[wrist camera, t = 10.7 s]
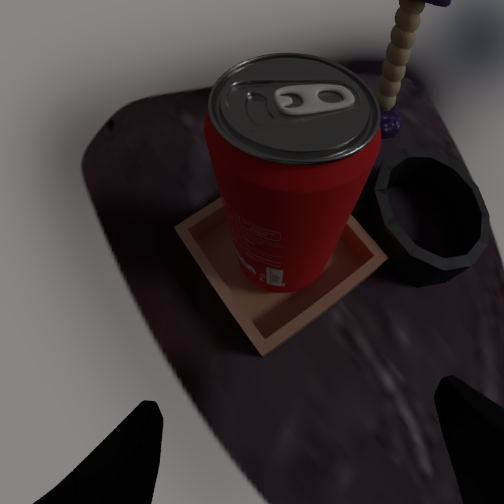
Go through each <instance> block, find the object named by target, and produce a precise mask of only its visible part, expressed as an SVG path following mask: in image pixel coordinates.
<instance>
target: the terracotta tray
mask: <svg viewBox="0 0 504 504" xmlns="http://www.w3.org/2000/svg"><path fill="white" fill-rule="evenodd" d="M174 228H175V230H176V231H177V233H178V235H179V236H180V238H181V239H182V241H183V243H184V244H185V246H186V247H187V249H188V250H189V252H190V253H191V255H192V256H193V258H194V259H195V261H196V262H197V264H198V265H199V267H200V268H201V270H202V271H203V273H204V274H205V276H206V277H207V279H208V280H209V282H210V283H211V285H212V286H213V288H214V289H215V291H216V292H217V294H218V295H219V296H220V298H221V299H222V301H223V302H224V304H225V305H226V307H227V308H228V309H229V311H230V312H231V314H232V315H233V317H234V318H235V319H236V321H237V322H238V324H239V325H240V327H241V328H242V329H243V331H244V332H245V334H246V335H247V336H248V338H249V339H250V341H251V342H252V343H253V345H254V346H255V347H256V349H257V350H258V352H259V353H260V354H261V356H262V357H265V356H266V355H268V354H269V353H270V352H272V351H273V350H275V349H276V348H277V347H279V346H280V345H282V344H283V343H284V342H286V341H287V340H289V339H290V338H291V337H293V336H294V335H295V334H297V333H298V332H299V331H301V330H302V329H304V328H305V327H306V326H308V325H309V324H310V323H311V322H313V321H314V320H315V319H317V318H318V317H319V316H321V315H322V314H323V313H325V312H326V311H327V310H328V309H330V308H331V307H332V306H333V305H335V304H336V303H337V302H339V301H340V300H341V299H342V298H344V297H345V296H346V295H347V294H348V293H350V292H351V291H352V290H353V289H355V288H356V287H357V286H358V285H359V284H361V283H362V282H363V281H364V280H365V279H367V278H368V277H369V276H370V275H371V274H373V273H374V272H375V271H376V270H377V269H378V268H379V267H380V266H381V265H382V264H383V263H384V262H385V261H386V260H387V259H388V257H387V256H386V254H385V253H384V252H383V251H382V250H381V248H380V247H379V246H378V245H377V244H376V242H375V241H374V240H373V239H372V238H371V237H370V235H369V234H368V233H367V232H366V231H365V230H364V229H363V227H362V226H361V225H360V224H359V223H358V222H357V221H356V220H355V218H354V217H353V216H352V215H350V217H349V220H348V222H347V224H346V226H345V228H344V230H343V232H342V234H341V236H340V238H339V240H338V242H337V244H336V246H335V248H334V250H333V252H332V254H331V256H330V258H329V260H328V262H327V264H326V266H325V268H324V270H323V271H322V273H321V275H320V276H319V277H318V278H317V279H316V280H315V281H314V282H313V283H312V284H310V285H309V286H307V287H305V288H304V289H301V290H299V291H295V292H290V293H276V292H271V291H268V290H265V289H263V288H261V287H259V286H257V285H256V284H254V283H253V282H252V281H251V280H250V279H249V278H248V277H247V276H246V275H245V273H244V272H243V270H242V268H241V266H240V264H239V261H238V257H237V254H236V250H235V247H234V243H233V239H232V236H231V232H230V228H229V225H228V221H227V217H226V214H225V210H224V206H223V203H222V199H221V197H220V198H219V199H217V200H215V201H214V202H212V203H211V204H209V205H208V206H206V207H204V208H203V209H201V210H200V211H198V212H197V213H195V214H193V215H192V216H190V217H189V218H187V219H186V220H184V221H183V222H181V223H180V224H178V225H177V226H175V227H174Z"/></svg>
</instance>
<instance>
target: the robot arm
mask: <svg viewBox="0 0 504 504" xmlns="http://www.w3.org/2000/svg"><path fill="white" fill-rule="evenodd" d="M434 402H435V405H436V409H437V413H438V417H439V422H440V426H441V430H442V434H443V438H444V441H445V444H446V447H447V450H448V453H449V456H450V459H451V462H452V466H453V469H454V472H455V475H456V479H457V482H458V486H459V489H460V493H461V497H462V501H463V504H504V408H502V407H501V406H499V405H498V404H496V403H495V402H493V401H492V400H490V399H489V398H487V397H486V396H484V395H483V394H481V393H480V392H478V391H477V390H475V389H474V388H472V387H470V386H469V385H467V384H466V383H464V382H463V381H461V380H460V379H458V378H457V377H455V376H453V375H451V376H447V377H444V378H442V379H441V381H440V383H439V385H438V387H437V390H436V392H435V394H434ZM162 432H163V416H162V414H161V412H160V409H159V407H158V404H157V403H156V402H155V401H146V400H144V401H142V402H141V403H140V404H139V405H138V406H137V407H136V408H135V409H134V410H133V411H132V412H131V413H130V414H129V415H128V416H127V417H126V418H125V419H124V420H123V421H122V422H121V423H120V424H119V425H118V426H117V427H116V428H115V429H114V430H113V431H112V432H111V433H110V434H109V435H108V436H107V437H106V438H105V439H104V440H103V441H102V442H101V443H100V444H99V445H98V446H97V447H96V448H95V449H94V450H93V451H92V452H91V453H90V454H89V455H88V456H87V457H86V458H85V459H84V460H83V461H82V462H81V463H80V464H79V465H78V466H77V467H76V468H75V469H74V470H73V471H72V472H71V473H70V474H68V475H67V477H65V478H64V479H63V480H62V481H61V482H60V483H59V484H58V485H57V486H55V487H54V488H53V489H52V490H51V491H49V492H48V493H47V494H46V495H44V496H43V497H41V498H40V499H39V500H37V501H36V502H34V503H33V504H151V502H152V497H153V493H154V488H155V483H156V478H157V474H158V469H159V464H160V453H161V442H162Z"/></svg>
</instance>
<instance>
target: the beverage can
mask: <svg viewBox="0 0 504 504" xmlns="http://www.w3.org/2000/svg"><path fill="white" fill-rule="evenodd" d="M380 119H381V113H380V107H379V104H378V101H377V99H376V97H375V95H374V93H373V91H372V90H371V89H370V87H369V86H368V85H367V84H366V83H365V82H364V81H363V80H362V79H361V78H360V77H359V76H357V75H356V74H355V73H353V72H352V71H350V70H349V69H347V68H345V67H343V66H342V65H339V64H337V63H335V62H333V61H330V60H327V59H325V58H322V57H318V56H314V55H307V54H298V53H275V54H269V55H262V56H258V57H255V58H251V59H248V60H246V61H243V62H241V63H239V64H237V65H235V66H234V67H232V68H231V69H229V70H228V71H227V72H225V73H224V74H223V75H222V76H221V77H220V78H219V79H218V80H217V81H216V83H215V84H214V86H213V88H212V90H211V92H210V95H209V99H208V111H207V113H206V117H205V123H204V132H205V138H206V142H207V146H208V150H209V154H210V158H211V161H212V165H213V169H214V173H215V176H216V180H217V184H218V188H219V191H220V195H221V199H222V203H223V206H224V210H225V214H226V217H227V221H228V225H229V228H230V232H231V236H232V239H233V243H234V247H235V250H236V254H237V257H238V261H239V264H240V266H241V268H242V270H243V272H244V273H245V275H246V276H247V277H248V278H249V279H250V280H251V281H252V282H253V283H254V284H256V285H257V286H259V287H261V288H263V289H265V290H268V291H271V292H276V293H290V292H295V291H299V290H301V289H304V288H305V287H307V286H309V285H310V284H312V283H313V282H314V281H315V280H316V279H317V278H318V277H319V276H320V275H321V273H322V271H323V270H324V268H325V266H326V264H327V262H328V260H329V258H330V256H331V254H332V252H333V250H334V248H335V246H336V244H337V242H338V240H339V238H340V236H341V234H342V232H343V230H344V228H345V226H346V224H347V222H348V220H349V217H350V215H351V213H352V211H353V209H354V207H355V205H356V203H357V200H358V198H359V196H360V194H361V192H362V190H363V187H364V185H365V183H366V181H367V179H368V176H369V174H370V172H371V170H372V167H373V165H374V163H375V160H376V158H377V156H378V153H379V150H380V145H381V129H380Z"/></svg>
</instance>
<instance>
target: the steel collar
mask: <svg viewBox="0 0 504 504" xmlns="http://www.w3.org/2000/svg"><path fill="white" fill-rule="evenodd" d="M397 185H414V186H416V187H419V188H421V189H423V190H425V191H427V192H429V193H431V194H433V195H435V197H436V198H437V199H438V200H439V201H440V202H441V203H442V204H443V206H444V207H445V208H446V209H447V210H448V211H449V213H450V215H451V218H452V221H453V223H454V226H455V230H456V233H457V243H456V250H455V257H449V258H442V257H440V256H437V255H435V254H433V253H431V252H429V251H427V250H425V249H423V248H420V247H418V246H416V245H415V243H414V242H413V241H412V240H411V239H410V237H409V236H408V235H407V234H406V233H405V232H404V230H403V229H402V228H401V227H400V226H399V225H398V223H397V222H396V221H395V220H394V216H393V213H392V210H391V206H390V203H389V200H388V197H387V194H386V190H387V189H388V188H390V187H391V186H397ZM360 220H361V224H362V227H363V229H364V230H365V231H366V232H367V233H368V234H369V235H370V237H371V238H372V239H373V240H374V241H375V242H376V244H377V245H378V246H379V247H380V248H381V250H382V251H383V252H384V253H385V254H386V256H387V257H388V259H387V260H386V261H385V262H384V263H383V264H382V267H383V268H384V269H385V270H386V271H387V273H388V274H389V275H391V276H393V277H395V278H398V279H400V280H402V281H405V282H407V283H409V284H411V285H414V286H416V287H418V288H419V287H424V286H430V285H435V284H441V283H445V282H447V281H449V280H450V279H452V278H454V277H455V276H457V275H458V274H460V273H462V272H463V271H465V270H466V269H468V268H469V267H471V266H472V265H473V264H474V263H475V261H476V260H477V259H478V257H479V256H480V255H481V254H482V252H483V251H484V250H485V248H486V247H487V246H488V238H489V213H488V211H487V208H486V205H485V203H484V200H483V198H482V196H481V193H480V191H479V188H478V186H477V185H476V184H475V183H474V182H473V181H472V179H471V178H470V177H469V176H468V175H467V174H466V173H465V172H464V171H463V170H462V169H461V167H460V166H459V165H458V164H457V163H455V162H453V161H452V160H450V159H448V158H446V157H444V156H442V155H440V154H438V153H436V152H434V151H432V150H430V149H401V150H400V151H398V152H397V153H395V154H394V155H392V156H391V157H389V158H388V159H386V160H385V161H383V162H382V163H381V165H380V167H379V169H378V171H377V173H376V175H375V178H374V180H373V182H372V184H371V186H370V188H369V190H368V193H367V196H366V199H365V203H364V206H363V209H362V212H361V215H360Z"/></svg>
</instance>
